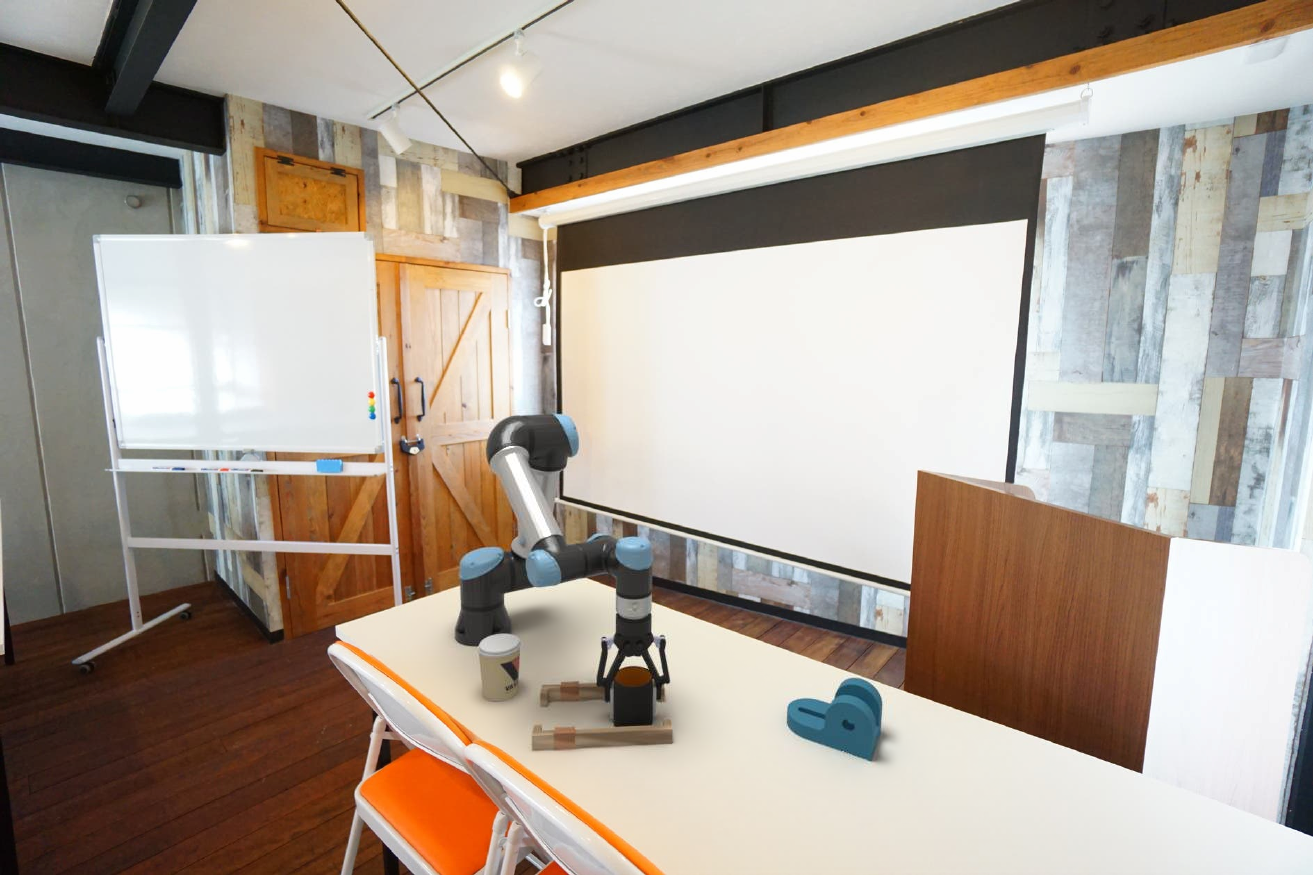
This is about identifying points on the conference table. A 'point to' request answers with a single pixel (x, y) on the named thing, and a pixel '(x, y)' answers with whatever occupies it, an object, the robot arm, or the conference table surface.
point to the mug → (633, 697)
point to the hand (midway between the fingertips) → (632, 713)
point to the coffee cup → (499, 666)
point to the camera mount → (841, 719)
